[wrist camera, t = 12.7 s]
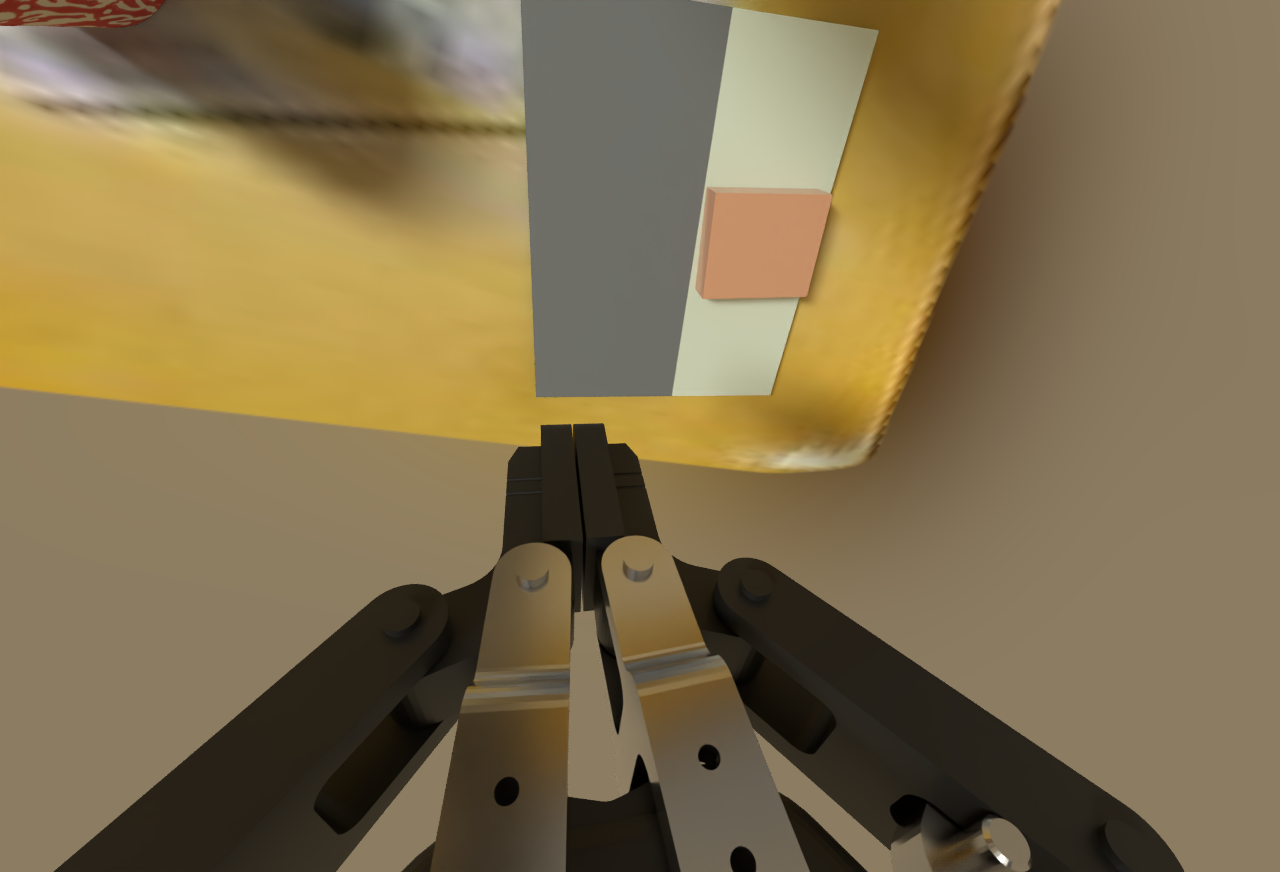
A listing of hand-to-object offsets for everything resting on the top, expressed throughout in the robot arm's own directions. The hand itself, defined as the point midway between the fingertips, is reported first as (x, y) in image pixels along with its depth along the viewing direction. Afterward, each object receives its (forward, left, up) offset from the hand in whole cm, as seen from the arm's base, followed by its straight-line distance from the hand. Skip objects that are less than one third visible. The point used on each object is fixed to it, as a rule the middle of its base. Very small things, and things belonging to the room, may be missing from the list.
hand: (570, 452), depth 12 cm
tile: (0, +13, -19) cm, 23 cm away
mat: (0, +8, -21) cm, 22 cm away
